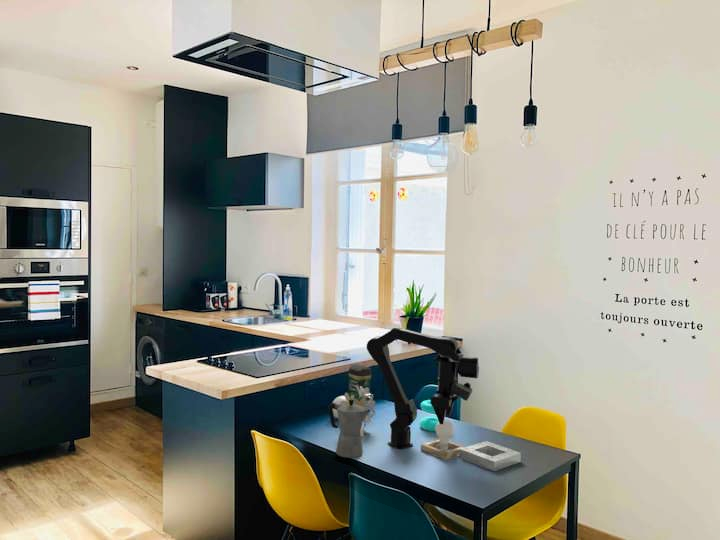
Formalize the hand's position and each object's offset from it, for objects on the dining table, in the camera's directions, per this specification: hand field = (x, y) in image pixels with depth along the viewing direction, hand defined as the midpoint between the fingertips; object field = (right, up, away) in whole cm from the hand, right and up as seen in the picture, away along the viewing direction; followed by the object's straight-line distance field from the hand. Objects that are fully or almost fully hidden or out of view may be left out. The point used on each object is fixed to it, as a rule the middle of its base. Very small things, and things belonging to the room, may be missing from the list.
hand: (444, 420), depth 200 cm
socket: (+14, -12, -6) cm, 19 cm away
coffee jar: (-30, -8, +48) cm, 57 cm away
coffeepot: (-33, -10, -4) cm, 35 cm away
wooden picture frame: (0, -11, 0) cm, 11 cm away
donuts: (-1, -10, +26) cm, 28 cm away
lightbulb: (0, -11, 0) cm, 11 cm away
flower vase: (-32, -9, +24) cm, 41 cm away
